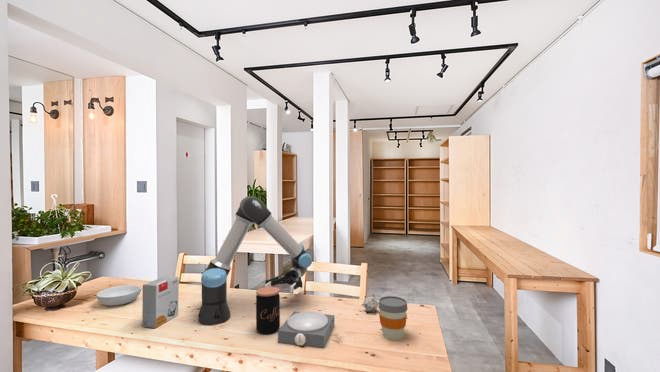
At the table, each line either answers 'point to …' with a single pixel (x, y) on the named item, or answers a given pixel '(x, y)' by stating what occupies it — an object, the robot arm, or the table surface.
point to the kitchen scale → (306, 329)
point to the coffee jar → (267, 310)
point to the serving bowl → (118, 294)
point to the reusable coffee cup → (392, 316)
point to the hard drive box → (160, 301)
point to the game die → (370, 303)
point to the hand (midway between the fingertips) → (277, 289)
